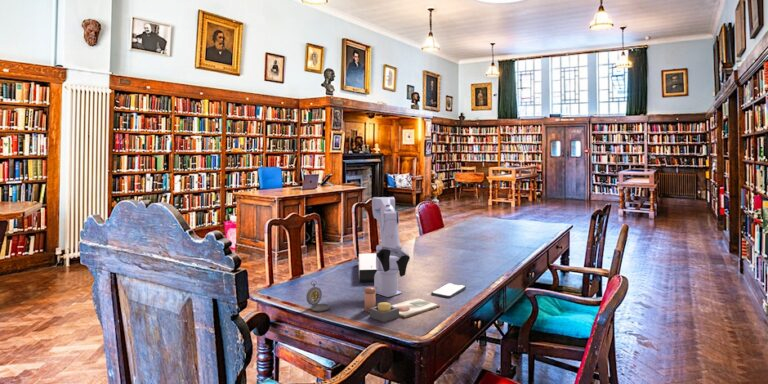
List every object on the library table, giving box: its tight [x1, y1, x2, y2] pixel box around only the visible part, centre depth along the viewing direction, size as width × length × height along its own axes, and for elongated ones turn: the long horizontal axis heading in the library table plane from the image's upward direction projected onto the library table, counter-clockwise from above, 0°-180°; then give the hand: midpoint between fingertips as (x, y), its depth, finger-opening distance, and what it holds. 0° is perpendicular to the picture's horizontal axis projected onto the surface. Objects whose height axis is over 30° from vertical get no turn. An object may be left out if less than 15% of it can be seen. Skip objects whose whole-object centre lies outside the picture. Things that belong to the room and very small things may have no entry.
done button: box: [377, 301, 391, 312], centre depth 155 cm, size 4×4×3 cm
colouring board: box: [391, 297, 440, 319], centre depth 164 cm, size 12×18×1 cm, turn 131°
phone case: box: [430, 282, 467, 299], centre depth 184 cm, size 9×2×16 cm
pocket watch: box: [305, 280, 330, 312], centre depth 164 cm, size 8×8×10 cm
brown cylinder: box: [363, 286, 377, 313], centre depth 162 cm, size 4×4×8 cm
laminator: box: [356, 252, 377, 283], centre depth 215 cm, size 34×12×6 cm, turn 4°
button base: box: [369, 305, 400, 323], centre depth 155 cm, size 7×7×3 cm
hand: (394, 273), depth 160 cm, fingers open, 7 cm apart
